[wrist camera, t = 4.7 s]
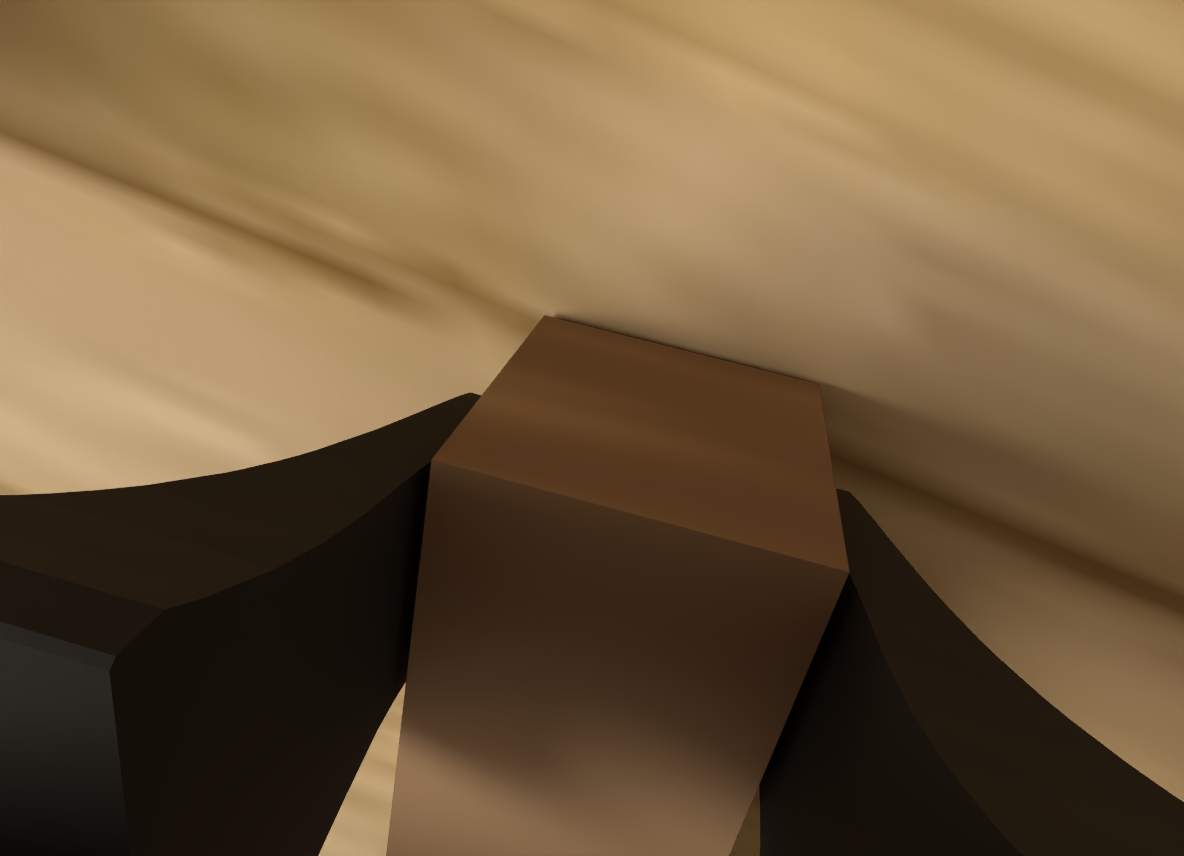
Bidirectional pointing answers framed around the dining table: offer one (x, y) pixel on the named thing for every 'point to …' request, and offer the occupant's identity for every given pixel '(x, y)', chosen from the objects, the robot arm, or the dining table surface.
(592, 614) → the block
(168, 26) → the dining table surface
